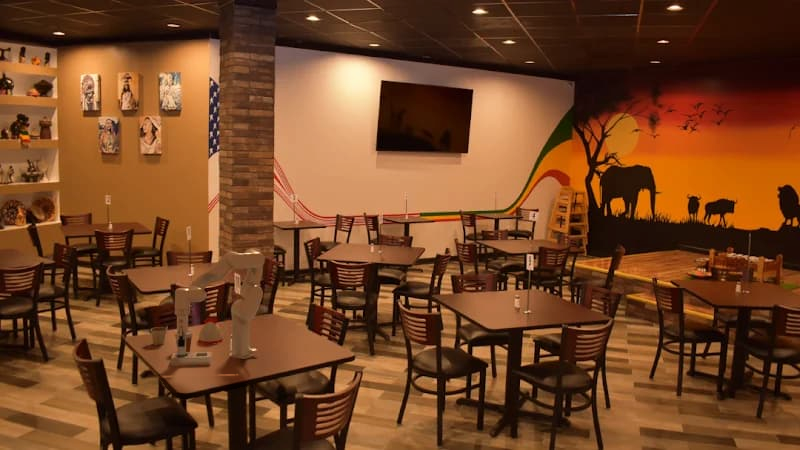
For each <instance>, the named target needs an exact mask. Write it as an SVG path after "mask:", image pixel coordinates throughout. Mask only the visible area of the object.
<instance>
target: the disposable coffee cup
mask: <svg viewBox="0 0 800 450" xmlns="http://www.w3.org/2000/svg"><path fill="white" fill-rule="evenodd" d="M177 336H178V333H177V331H176V332H175V334H174V337H175V338H176V337H177ZM192 338H193V332H192V331H191V330H188V332H187V334H186V352H191V345H192ZM175 343H176V344H177V341H175Z"/></svg>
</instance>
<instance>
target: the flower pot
mask: <svg viewBox="0 0 800 450" xmlns="http://www.w3.org/2000/svg"><path fill="white" fill-rule="evenodd" d="M167 330H168V328H167V327H164V326H161V327H160V326H159V327H157V326H156V327H152V328H150V330H149V331H150V334H151V339H152V344H153V345H155V346H157V345H159V346H160V345H164V344H165V339H166V334H167Z"/></svg>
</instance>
